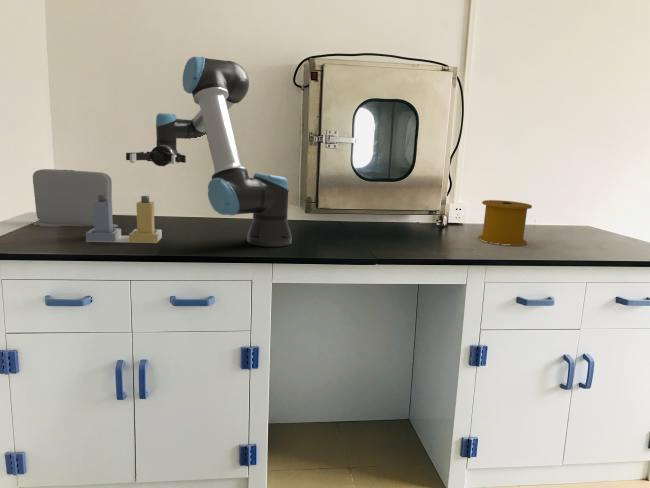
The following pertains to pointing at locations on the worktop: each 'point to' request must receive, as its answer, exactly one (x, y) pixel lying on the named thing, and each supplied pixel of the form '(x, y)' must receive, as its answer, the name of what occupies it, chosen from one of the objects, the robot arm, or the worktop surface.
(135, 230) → the slot rack
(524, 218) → the spool
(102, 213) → the blue-grey bottle
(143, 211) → the ochre plug
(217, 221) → the worktop surface
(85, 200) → the grey upright panel
